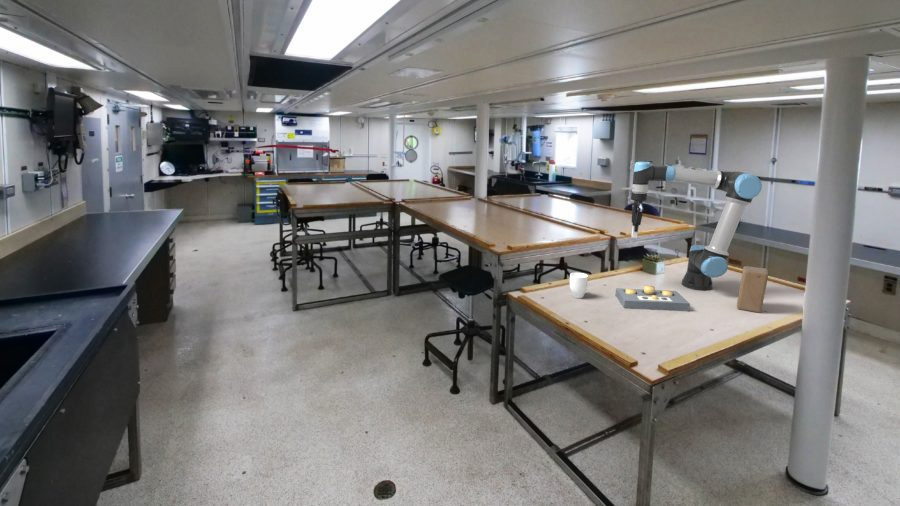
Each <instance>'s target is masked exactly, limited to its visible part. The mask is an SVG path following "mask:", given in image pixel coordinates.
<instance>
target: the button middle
mask: <svg viewBox="0 0 900 506" xmlns="http://www.w3.org/2000/svg"><path fill="white" fill-rule="evenodd" d="M655 288H656V287H655V286H654V285H650V284H649V285H644V288H643V289H644V295H654V290H656V289H655Z"/></svg>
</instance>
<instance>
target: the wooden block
mask: <svg viewBox="0 0 900 506" xmlns="http://www.w3.org/2000/svg"><path fill="white" fill-rule="evenodd" d="M768 278H769V271H768V269H767V268H764V267H757V266H749V265H745V266H743V268H742V273H741V279H740V284H739V285H740V286H739V290H738V296H737V299H736V300H737V302H736V309H738V310H741V311H747V312H753V313H758V314H759V313H761V312H762V310H763V305H764V299H765V294H766V289H767V283H768Z"/></svg>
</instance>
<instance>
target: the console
mask: <svg viewBox="0 0 900 506" xmlns="http://www.w3.org/2000/svg"><path fill="white" fill-rule="evenodd" d="M626 289H627V288H621V287H620V288H615V294H614V295H615V297H616V298H617V301H618V302H619V303H620V305H621V306H622V308H623V309H629V310H630V309H631V310H650V311H652V310H655V311H670V312H671V311H674V312H675V311H676V312H690V311H689V310H690V305H691V304H690V302H689V301H688V300H686V298H685V297H684V296H682V294H680V293H679V292H678V291H677V290H671V291H672V292H673V295H672V296H665V295H662V291H663V290H664V289H663V290H662V289H655V290H654V295H656V296H658V297H669V298H670V299H671V300H672V302H669V301H647V300H639V298H638V297H637V296H648V297H652V295H644V288H643V289H641V288H633V289H634V290H636V293H635V294H626V293H625V292H626Z"/></svg>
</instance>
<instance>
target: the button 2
mask: <svg viewBox="0 0 900 506" xmlns="http://www.w3.org/2000/svg"><path fill="white" fill-rule="evenodd" d="M672 291H673V290H667V289H666V290H665V289H663V291H662V295H665V296H672V295H673V292H672Z"/></svg>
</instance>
